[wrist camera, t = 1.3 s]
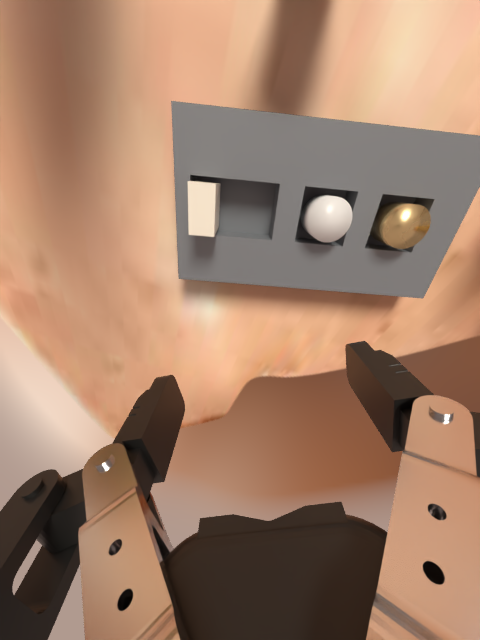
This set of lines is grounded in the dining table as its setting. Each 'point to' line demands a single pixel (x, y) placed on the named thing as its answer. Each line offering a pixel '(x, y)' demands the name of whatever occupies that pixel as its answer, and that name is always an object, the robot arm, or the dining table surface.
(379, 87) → the dining table surface
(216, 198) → the paddle switch
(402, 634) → the robot arm
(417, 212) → the brass button
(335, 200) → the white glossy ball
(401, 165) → the control panel
